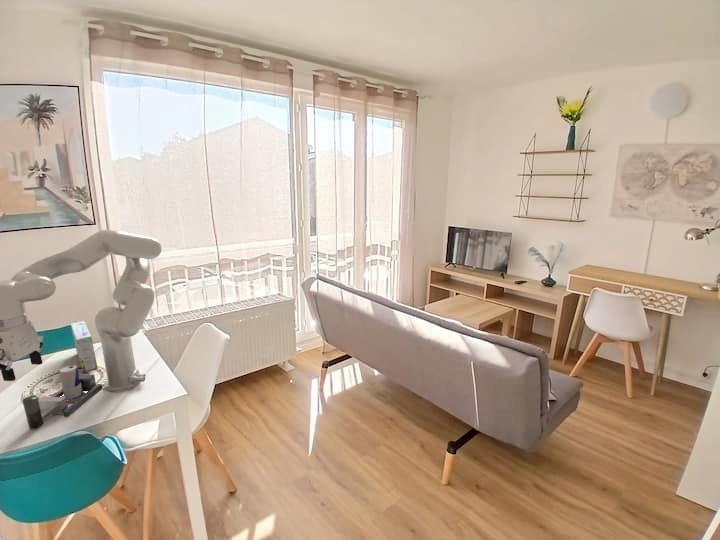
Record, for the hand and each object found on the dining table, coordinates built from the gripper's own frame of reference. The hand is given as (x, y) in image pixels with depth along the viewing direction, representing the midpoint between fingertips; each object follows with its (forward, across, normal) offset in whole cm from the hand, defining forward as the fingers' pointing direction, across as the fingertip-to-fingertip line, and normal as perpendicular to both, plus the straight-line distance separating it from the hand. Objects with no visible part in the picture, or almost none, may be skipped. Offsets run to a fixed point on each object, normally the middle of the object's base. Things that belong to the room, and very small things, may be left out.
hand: (24, 371), depth 118 cm
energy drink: (+20, +16, 0) cm, 26 cm away
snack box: (+21, +43, +15) cm, 50 cm away
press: (+20, +14, 0) cm, 24 cm away
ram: (+20, +3, 0) cm, 20 cm away
